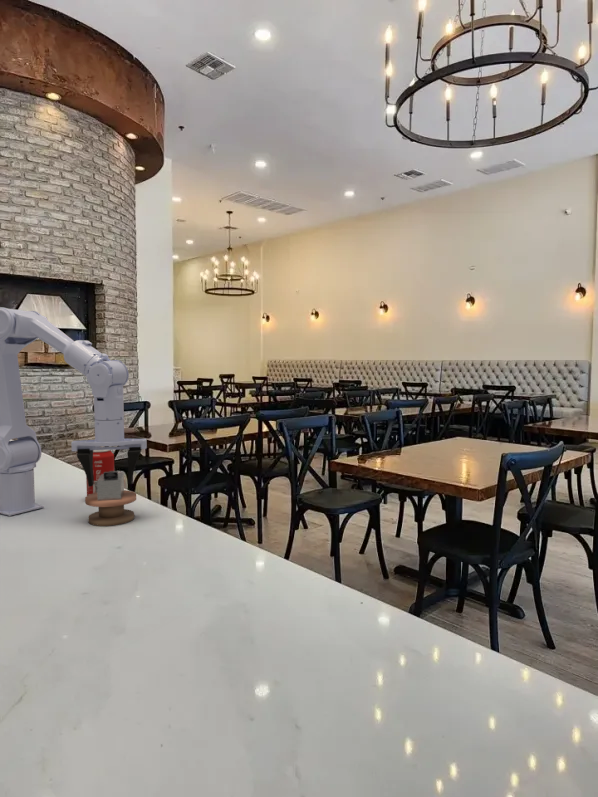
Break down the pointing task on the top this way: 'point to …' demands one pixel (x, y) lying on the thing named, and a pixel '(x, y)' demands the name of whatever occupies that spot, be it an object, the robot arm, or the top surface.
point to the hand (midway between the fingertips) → (110, 484)
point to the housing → (110, 486)
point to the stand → (110, 510)
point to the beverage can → (100, 467)
